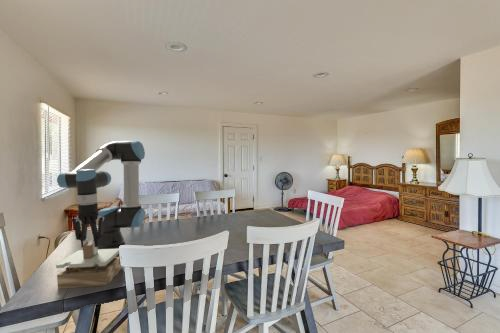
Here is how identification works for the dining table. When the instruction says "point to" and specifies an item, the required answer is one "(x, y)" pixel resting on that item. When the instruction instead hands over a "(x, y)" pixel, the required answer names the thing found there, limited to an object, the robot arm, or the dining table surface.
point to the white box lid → (89, 257)
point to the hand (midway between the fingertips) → (90, 253)
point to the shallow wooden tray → (89, 275)
